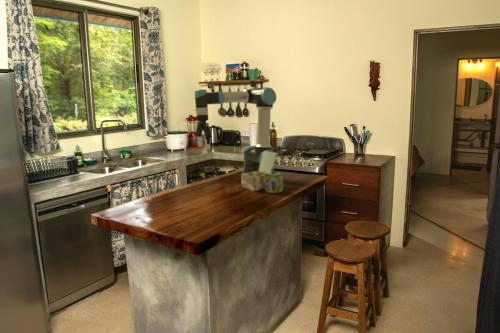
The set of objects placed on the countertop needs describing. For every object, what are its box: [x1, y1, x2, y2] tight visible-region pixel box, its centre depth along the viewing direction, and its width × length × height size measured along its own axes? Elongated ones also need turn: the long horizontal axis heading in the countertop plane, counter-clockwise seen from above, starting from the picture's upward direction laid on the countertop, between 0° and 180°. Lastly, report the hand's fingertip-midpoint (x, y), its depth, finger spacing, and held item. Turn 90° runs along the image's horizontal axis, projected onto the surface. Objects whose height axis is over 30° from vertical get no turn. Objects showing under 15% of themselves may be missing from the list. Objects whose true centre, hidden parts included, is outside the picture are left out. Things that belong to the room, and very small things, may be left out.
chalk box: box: [264, 167, 284, 194], centre depth 245 cm, size 9×9×15 cm
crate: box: [240, 171, 267, 192], centre depth 257 cm, size 14×14×9 cm
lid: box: [259, 151, 278, 173], centre depth 260 cm, size 14×14×1 cm
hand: (204, 147), depth 251 cm, fingers open, 13 cm apart
